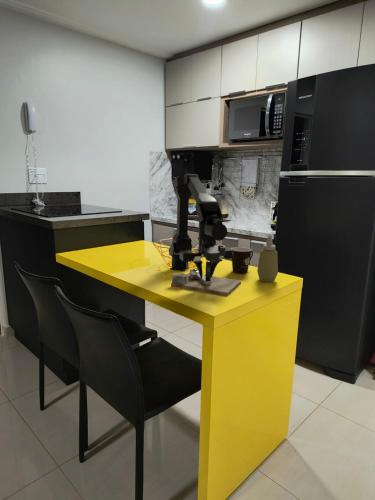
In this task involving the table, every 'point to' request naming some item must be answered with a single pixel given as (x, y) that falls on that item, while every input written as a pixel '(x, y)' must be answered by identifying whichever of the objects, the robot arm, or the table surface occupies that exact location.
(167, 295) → the table surface
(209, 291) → the base
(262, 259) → the squeeze bottle
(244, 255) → the coffee mug
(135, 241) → the table surface
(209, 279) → the lever
